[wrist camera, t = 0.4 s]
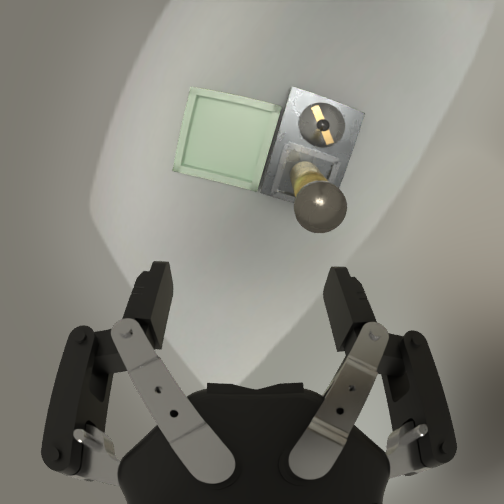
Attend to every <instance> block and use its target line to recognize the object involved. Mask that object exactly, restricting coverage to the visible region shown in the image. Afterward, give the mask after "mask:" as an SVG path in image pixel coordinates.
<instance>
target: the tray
mask: <svg viewBox="0 0 504 504" xmlns="http://www.w3.org/2000/svg"><path fill="white" fill-rule="evenodd" d="M281 108H282V107H281V106H278V105H274V104H271V103H267V102H263V101H259V100H255V99H251V98H247V97H243V96H238V95H234V94H229V93H224V92H219V91H214V90H208V89H202V88H196V87H191V88H190V92H189V96H188V100H187V104H186V108H185V112H184V117H183V121H182V125H181V130H180V135H179V140H178V144H177V150H176V155H175V160H174V166H173V171H174V172H179V173H183V174H188V175H192V176H196V177H201V178H205V179H209V180H213V181H217V182H221V183H225V184H229V185H233V186H237V187H240V188H244V189H248V190H252V191H255V192H257V190H258V186H259V183H260V179H261V176H262V172H263V169H264V166H265V162H266V159H267V155H268V152H269V148H270V145H271V142H272V138H273V135H274V132H275V128H276V125H277V121H278V118H279V115H280V111H281Z"/></svg>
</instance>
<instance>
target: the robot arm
mask: <svg viewBox="0 0 504 504" xmlns="http://www.w3.org/2000/svg"><path fill="white" fill-rule="evenodd" d="M172 297H173V281H172V276H171V270H170V264H169V262H162V261H154V262H153V263H152V266H151V269H150V271H143V272H142V273H141V274H140V275H139V276H138V278H137V279H136V282H135V285H134V288H133V290H132V294H131V296H130V298H129V301H128V304H127V307H126V310H125V313H124V316H123V318H122V319H121V320H119V321H118V322H116V323H115V324H114V325H113V327H112V329H109V330H104V331H98V332H94V331H93V330H92V329H91V328H90V327H88V326H79V327H77V328H75V329H74V330H72V332H71V333H70V335H69V337H68V340H67V343H66V346H65V349H64V352H63V356H62V359H61V362H60V365H59V369H58V372H57V376H56V380H55V383H54V387H53V391H52V395H51V400H50V405H49V409H48V413H47V419H46V423H45V429H44V435H43V441H42V448H41V455H42V458H43V461H44V463H45V464H46V465H47V466H48V467H49V468H50V469H52V470H55V471H57V472H60V473H62V474H64V475H66V476H70V477H73V478H76V479H82V480H86V481H99V482H102V483H106V484H110V485H115V486H120V488H121V490H122V492H123V494H124V496H125V498H126V501H127V504H382V501H383V495H384V491H385V488H386V485H387V482H388V480H389V479H390V478H393V477H397V476H401V475H405V476H411V475H414V474H417V473H420V472H423V471H426V470H429V469H431V468H434V467H437V466H439V465H442V464H444V463H447V462H449V461H450V460H451V459H452V458H453V457H454V455H455V453H456V450H457V443H456V438H455V434H454V429H453V425H452V420H451V416H450V412H449V409H448V405H447V401H446V398H445V394H444V391H443V387H442V384H441V381H440V378H439V375H438V372H437V369H436V366H435V363H434V360H433V357H432V354H431V352H430V349H429V346H428V343H427V341H426V339H425V337H424V336H423V335H422V334H421V333H419V332H417V331H408V332H407V333H406V334H405V335H404V336H399V335H394V334H390V333H388V331H387V329H386V328H385V327H384V326H382V325H381V324H380V323H377V321H376V319H375V316H374V314H373V311H372V309H371V306H370V304H369V302H368V300H367V296H366V294H365V291H364V289H363V287H362V284H361V283H360V282H359V281H358V280H357V279H356V278H355V277H350V274H349V272H348V269H347V268H346V267H331V268H330V271H329V274H328V277H327V280H326V283H325V286H324V291H323V298H324V302H325V306H326V310H327V313H328V317H329V321H330V325H331V329H332V333H333V337H334V340H335V345H336V349H337V352H339V351H345V354H346V356H345V358H344V360H343V362H342V363H341V365H340V367H339V369H338V370H337V372H336V374H335V376H334V378H333V379H332V381H331V383H330V384H329V386H328V388H327V389H326V391H325V392H324V394H323V395H320V394H318V393H316V392H314V391H311V390H307V389H304V388H303V383H284V384H277V385H273V386H269V387H266V388H262V389H258V390H255V389H250V388H245V387H241V386H237V385H233V384H218V383H207V389H203V390H200V391H197V392H194V393H192V394H191V395H189V396H187V397H186V396H185V394H184V393H183V391H182V390H181V388H180V387H179V386H178V384H177V383H176V381H175V380H174V378H173V377H172V375H171V374H170V372H169V370H168V369H167V368H166V366H165V364H164V363H163V361H162V360H161V358H160V357H158V356H157V354H156V352H155V351H154V350H155V349H162V343H163V339H164V334H165V329H166V324H167V319H168V315H169V310H170V306H171V301H172ZM123 371H128V374H129V376H130V378H131V380H132V382H133V384H134V386H135V387H136V389H137V391H138V393H139V395H140V396H141V398H142V400H143V402H144V403H145V405H146V407H147V409H148V410H149V412H150V413H151V415H152V417H153V419H154V420H155V421H156V423H157V426H156V427H154V428H153V429H152V430H151V431H150V432H149V433H148V434H147V435H146V436H145V437H144V438H143V439H142V440H141V441H140V442H139V443H138V444H136V445H135V446H134V447H133V448H132V449H131V450H130V451H129V452H128V453H127V454H126V455H125V456H124V457H123V458H122V460H121V461H119V460H118V459H117V457H116V455H115V452H114V444H113V442H112V440H111V438H110V437H109V436H108V435H106V434H105V433H104V432H105V424H106V417H107V409H108V403H109V396H110V390H111V385H112V378H113V374H114V373H117V372H123ZM377 374H381V375H382V379H383V384H384V389H385V393H386V398H387V403H388V408H389V413H390V418H391V424H392V429H393V432H392V433H391V434H390V435H389V437H388V440H387V450H386V452H384V451H383V450H382V449H381V448H380V447H378V445H376V444H375V443H374V442H373V441H372V440H371V439H369V438H368V437H367V436H366V435H365V434H364V433H363V432H362V431H361V430H359V429H358V428H357V427H356V426H355V425H354V424H355V422H356V420H357V418H358V416H359V414H360V412H361V410H362V408H363V406H364V404H365V402H366V399H367V397H368V395H369V393H370V390H371V389H372V386H373V384H374V381H375V379H376V377H377Z"/></svg>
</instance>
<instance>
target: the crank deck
mask: <svg viewBox="0 0 504 504" xmlns="http://www.w3.org/2000/svg"><path fill="white" fill-rule="evenodd" d="M364 115H365V113H363V112H361V111H359V110H356V109H354V108H351V107H349V106H346V105H344V104H341V103H339V102H336V101H333V100H331V99H328V98H325V97H322V96H320V95H317V94H314V93H311V92H308V91H305V90H301V89H298V88H295V87H291V90H290V93H289V96H288V100H287V103H286V106H285V110H284V113H283V116H282V120H281V123H280V126H279V130H278V133H277V136H276V140H275V143H274V146H273V150H272V153H271V157H270V160H269V163H268V167H267V170H266V173H265V177H264V180H263V184H262V187H261V192H260V193H263V194H266V195H270V196H272V197H276V198H279V199H283V200H286V201H290V202H293V203H294V201H295V194H294V190H293V187H292V183H291V180H290V172H291V170H292V168H293V167H294V166H295V165H296V164H297V163H299V162H303V161H307V162H311V163H313V164H314V165H315V166H316V167H317V168H318V169H319V171H320V172H321V173H322V174H323V176H324V177H325V178H326V179H327V181H328V182H330V183H332V184H334V185H335V186H337V187H338V188H339V187H340V184H341V182H342V179H343V176H344V173H345V171H346V168H347V165H348V162H349V159H350V157H351V154H352V151H353V148H354V145H355V142H356V139H357V136H358V133H359V130H360V127H361V124H362V121H363V118H364Z"/></svg>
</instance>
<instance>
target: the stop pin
mask: <svg viewBox="0 0 504 504" xmlns="http://www.w3.org/2000/svg"><path fill="white" fill-rule="evenodd" d="M290 180H291V183H292V187H293V190H294V194H295V201H294V211H295V215H296V218H297V220H298V222H299V223H300V224H301V226H302V227H304V228H305V229H307V230H308V231H311V232H314V233H325V232H329V231H331V230H333V229H335V228H336V227H338V226H339V225H340V224H341V223H342V221H343V220H344V218H345V215H346V211H347V202H346V199H345V196H344V195H343V193H342V192H341V191H340V189H339V188H338V187H337V186H335V185H334V184H332V183H330V182H328V181H327V179H326V178H325V177H324V176H323V174H322V173H321V172H320V171H319V169H318V168H317V167H316V166H315V165H314V164H313V163H311V162H307V161H303V162H299V163H297V164H296V165H295V166H294V167H293V168H292V170H291V172H290Z"/></svg>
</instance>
